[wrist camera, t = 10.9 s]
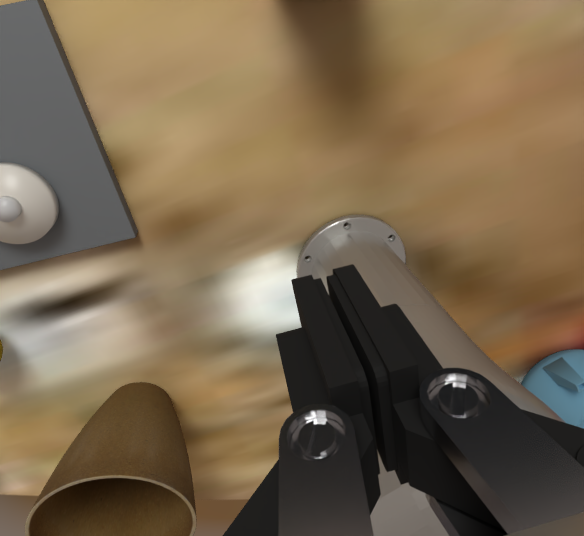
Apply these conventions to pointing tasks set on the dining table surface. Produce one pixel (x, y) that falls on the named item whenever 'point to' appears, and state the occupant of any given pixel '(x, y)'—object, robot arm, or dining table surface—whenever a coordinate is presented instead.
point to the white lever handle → (25, 204)
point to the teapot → (560, 384)
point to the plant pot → (121, 473)
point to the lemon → (1, 350)
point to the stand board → (54, 139)
